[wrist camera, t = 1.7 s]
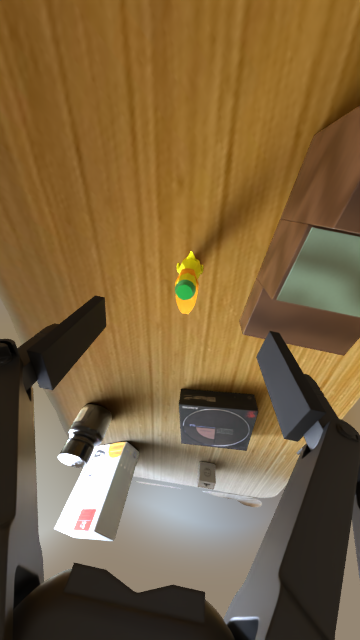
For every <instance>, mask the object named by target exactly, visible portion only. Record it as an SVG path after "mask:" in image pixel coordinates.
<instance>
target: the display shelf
mask: <svg viewBox="0 0 360 640" xmlns="http://www.w3.org/2000/svg"><path fill="white" fill-rule="evenodd" d="M239 322H240V326H241V329H242V333H243V335H248V336H253V337H257V338H262V339H266V337H267V335H268V333H269V331H273V332H278V333H280V335H281V336H282V338H283V340H284V341H285V343H286V344H291V345H296V346H301V347H305V348H310V349H315V350H320V351H325V352H329V353H334V354H339V355H345V354H346V353H347V352H348V350H349V349H350V348H351V347H352V346H353V345H354V343H355V342H356V341H357V340H358V339H359V338H360V106H358V107H357V108H355V109H354V110H352V111H351V112H349V113H348V114H346V115H344V116H343V117H341V118H340V119H338V120H337V121H335V122H334V123H332V124H331V125H329V126H328V127H326V128H325V129H323V130H322V131H320V132H318V133H317V134H315V135H314V137H313V139H312V142H311V144H310V147H309V149H308V152H307V154H306V157H305V159H304V161H303V164H302V166H301V169H300V171H299V174H298V176H297V179H296V181H295V184H294V186H293V189H292V191H291V194H290V196H289V199H288V201H287V204H286V206H285V209H284V211H283V214H282V216H281V219H280V221H279V224H278V226H277V229H276V231H275V234H274V236H273V238H272V241H271V243H270V246H269V248H268V251H267V253H266V256H265V258H264V261H263V263H262V266H261V268H260V271H259V273H258V276H257V278H256V281H255V283H254V286H253V288H252V291H251V293H250V296H249V298H248V301H247V303H246V306H245V308H244V311H243V313H242V316H241V318H240V321H239Z"/></svg>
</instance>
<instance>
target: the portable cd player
mask: <svg viewBox="0 0 360 640" xmlns="http://www.w3.org/2000/svg"><path fill="white" fill-rule="evenodd" d="M179 413H180V429H181V443H183V444H191V445H200V446H209V447H218V448H227V449H236V450H244V451H247V447H248V444H249V441H250V437H251V434H252V431H253V427H254V424H255V421H256V417H257V414H258V408H257V404H256V400H255V396H254V395H253V394H241V393H228V392H215V391H202V390H189V389H181V393H180V400H179Z"/></svg>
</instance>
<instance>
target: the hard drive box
mask: <svg viewBox="0 0 360 640" xmlns="http://www.w3.org/2000/svg"><path fill="white" fill-rule="evenodd" d="M138 456H139V452H138V451H137V450H136V449H135V448H134V447H133V446H131V445H130V444H129V443H128V442H118V443H114V444H108V445H100V446H96V447H94V451H93V453H92V455H91V457H90V460H89V462H88V464H87V466H86V467H84V468H83V471H82V473H81V475H80V477H79V479H78V481H77V483H76V485H75V487H74V489H73V491H72V493H71V495H70V498H69V499H68V502H67V504H66V506H65V508H64V510H63V512H62V514H61V516H60V518H59V520H58V522H57V524H56V526H55V529H56V530H58V531H60V532H62V533H64V534H67V535H69V536H71V537H74V538H84V539H96V540H107V541H114V539H115V536H116V533H117V529H118V526H119V522H120V519H121V515H122V511H123V508H124V505H125V501H126V497H127V494H128V490H129V487H130V484H131V480H132V477H133V473H134V470H135V466H136V463H137V460H138Z"/></svg>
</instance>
